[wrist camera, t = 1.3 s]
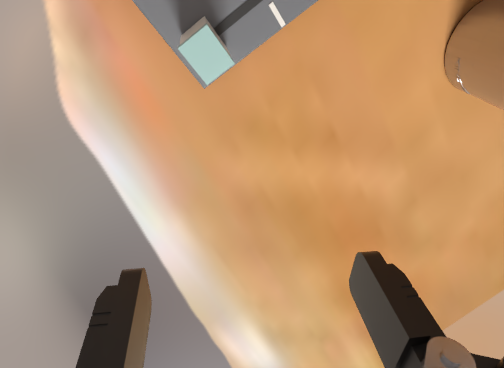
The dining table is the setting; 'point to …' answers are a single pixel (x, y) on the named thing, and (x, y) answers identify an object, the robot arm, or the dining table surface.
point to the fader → (205, 51)
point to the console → (222, 22)
